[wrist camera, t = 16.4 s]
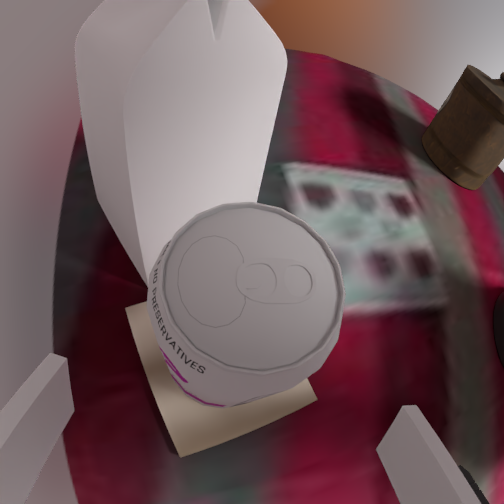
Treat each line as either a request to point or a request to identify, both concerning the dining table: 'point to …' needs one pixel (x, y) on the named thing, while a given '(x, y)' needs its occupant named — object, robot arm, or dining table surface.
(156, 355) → the beige cloth
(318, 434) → the dining table surface
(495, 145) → the wooden container
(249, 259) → the supplement can
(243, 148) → the milk
